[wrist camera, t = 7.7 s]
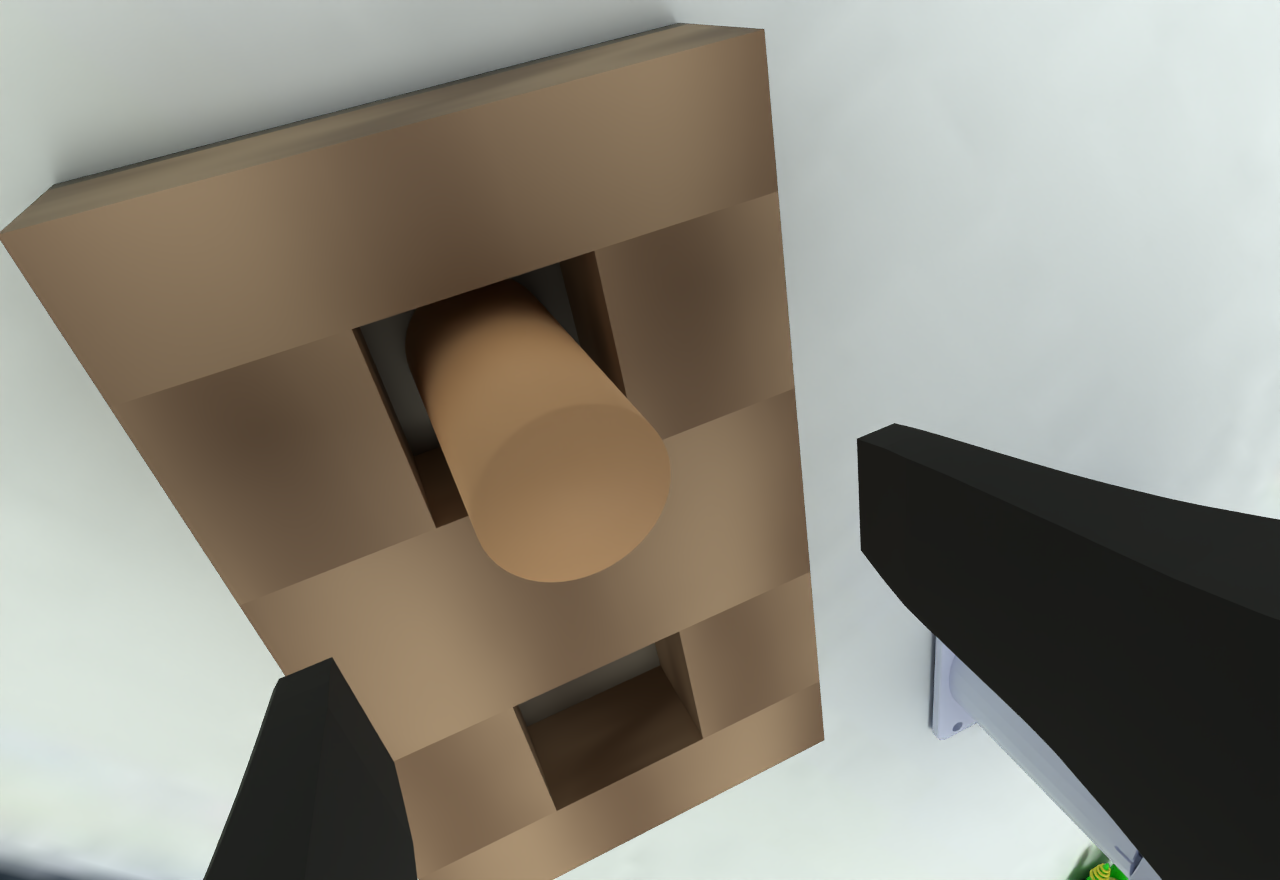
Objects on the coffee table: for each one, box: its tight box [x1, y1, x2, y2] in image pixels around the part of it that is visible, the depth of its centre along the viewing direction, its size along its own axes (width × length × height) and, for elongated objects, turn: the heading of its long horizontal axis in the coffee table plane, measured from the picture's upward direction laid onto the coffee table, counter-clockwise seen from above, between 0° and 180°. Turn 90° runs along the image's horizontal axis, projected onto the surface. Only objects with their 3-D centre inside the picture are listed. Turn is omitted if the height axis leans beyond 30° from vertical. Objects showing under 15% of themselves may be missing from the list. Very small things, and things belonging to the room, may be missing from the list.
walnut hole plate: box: [0, 23, 824, 880], centre depth 19 cm, size 12×20×4 cm, turn 11°
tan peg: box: [405, 278, 671, 582], centre depth 15 cm, size 3×3×6 cm
